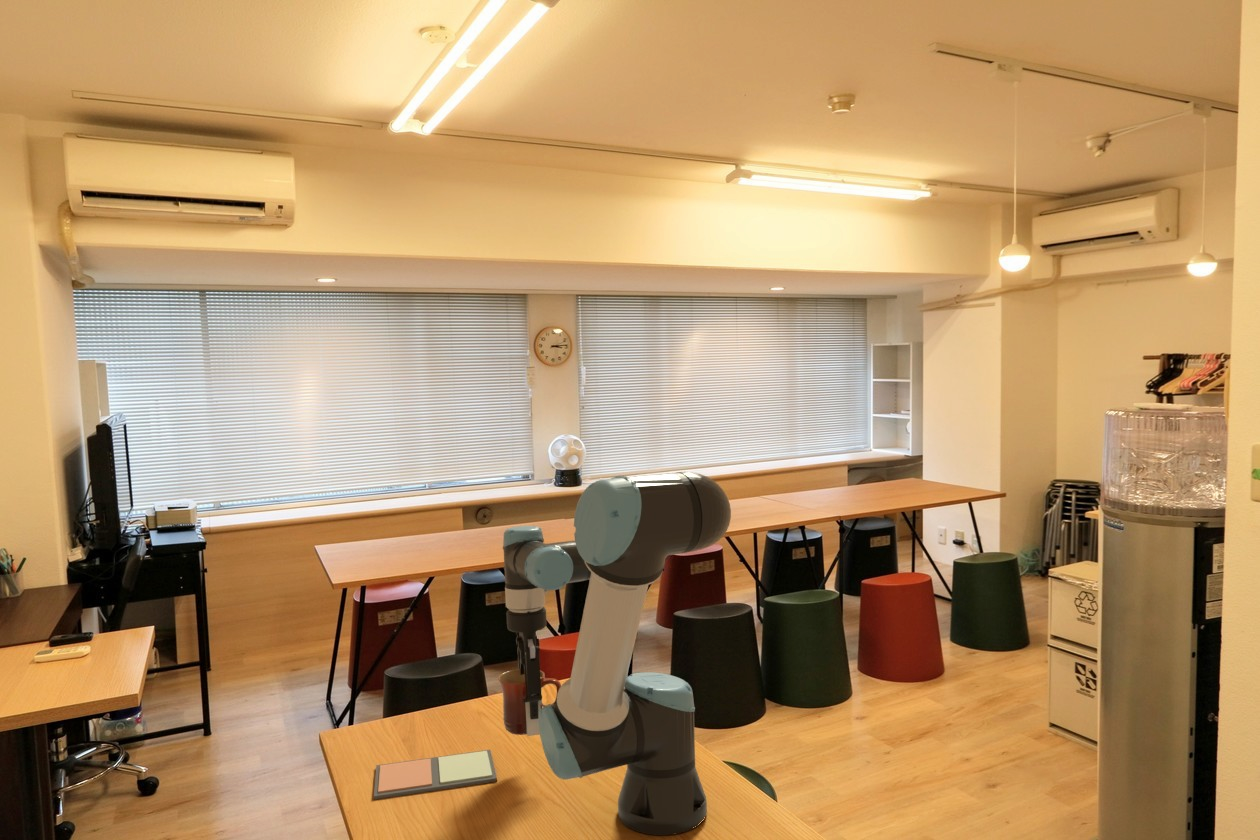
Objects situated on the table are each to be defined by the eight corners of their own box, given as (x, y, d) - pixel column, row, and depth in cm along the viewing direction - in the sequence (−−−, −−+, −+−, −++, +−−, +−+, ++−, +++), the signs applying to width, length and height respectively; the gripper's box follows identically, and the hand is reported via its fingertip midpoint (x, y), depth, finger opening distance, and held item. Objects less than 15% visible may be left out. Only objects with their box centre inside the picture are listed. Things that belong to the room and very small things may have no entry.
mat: (496, 781, 157) (496, 776, 157) (373, 799, 151) (373, 794, 151) (490, 752, 169) (490, 748, 169) (376, 768, 164) (376, 763, 164)
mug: (495, 738, 157) (493, 683, 156) (506, 720, 165) (504, 668, 165) (559, 738, 156) (556, 683, 155) (566, 720, 164) (564, 668, 164)
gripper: (554, 618, 152) (559, 744, 152) (537, 594, 171) (542, 706, 172) (512, 622, 150) (518, 750, 150) (500, 598, 169) (505, 711, 170)
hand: (531, 726), depth 161 cm, fingers closed on mug, 7 cm apart
